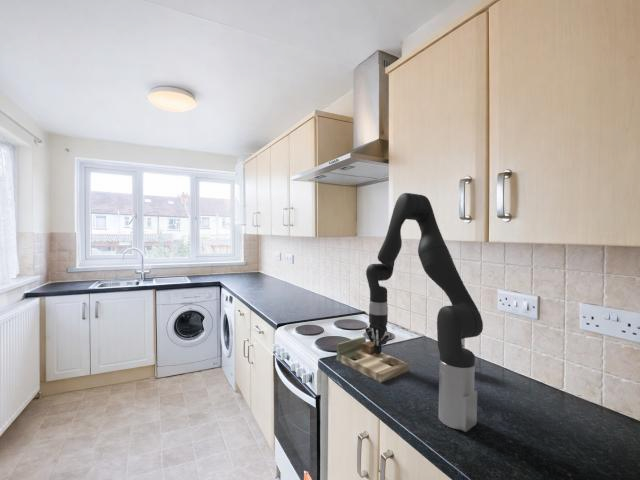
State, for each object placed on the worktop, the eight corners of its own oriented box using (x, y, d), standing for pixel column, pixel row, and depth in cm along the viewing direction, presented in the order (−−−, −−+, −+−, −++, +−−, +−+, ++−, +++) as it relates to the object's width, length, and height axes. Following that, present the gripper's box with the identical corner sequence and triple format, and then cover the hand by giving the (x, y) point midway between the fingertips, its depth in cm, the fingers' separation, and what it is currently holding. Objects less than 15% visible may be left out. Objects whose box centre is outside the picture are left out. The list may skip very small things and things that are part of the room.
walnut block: (378, 352, 132) (378, 344, 132) (370, 355, 129) (370, 346, 129) (369, 348, 136) (369, 340, 136) (361, 351, 133) (361, 343, 133)
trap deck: (408, 371, 121) (408, 353, 121) (380, 382, 112) (380, 363, 112) (363, 351, 141) (363, 336, 141) (336, 360, 131) (336, 343, 131)
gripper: (397, 314, 125) (396, 356, 126) (372, 307, 136) (372, 346, 136) (384, 317, 121) (383, 361, 121) (360, 309, 131) (359, 350, 132)
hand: (377, 353), depth 129 cm, fingers closed
